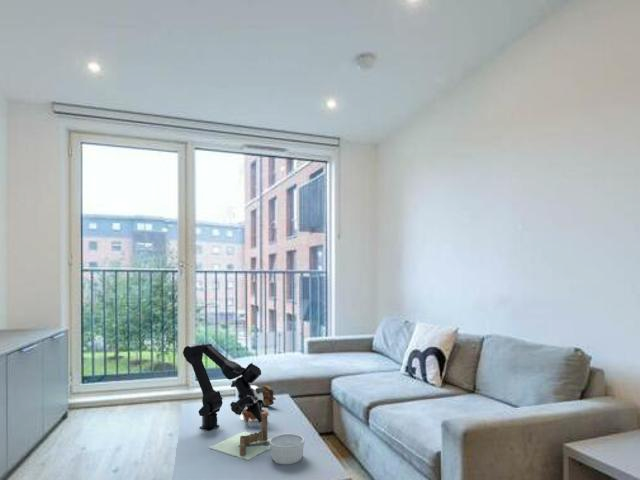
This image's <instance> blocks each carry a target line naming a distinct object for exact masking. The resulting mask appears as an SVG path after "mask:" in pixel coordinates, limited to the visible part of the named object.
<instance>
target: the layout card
mask: <svg viewBox="0 0 640 480" xmlns="http://www.w3.org/2000/svg"><path fill="white" fill-rule="evenodd" d="M250 434H253V433H252V432H249V431H242V432H240V433H237V434H234V435H233V436H231V437H229V438H227V439H225V440H223V441H221V442H219V443H216V444H215V445H212V446H210V447H209V449H211V450H214V451H217V452H219V453H224V454H226V455H229V456H233V457H235V458H239V459H242V460H246V461H250V460H252V459H253V458H255V457H257V456H259V455H261V454H263V453H264V452H266V451H267V450H270V449H271V446H270V439H271V438H272V437H268V439H267V440H262V441H257V442H253V443H250V444H248V445H246V444H245V455H244V456H240V436H247V435H250Z"/></svg>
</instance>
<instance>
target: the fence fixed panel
mask: <svg viewBox="0 0 640 480" xmlns="http://www.w3.org/2000/svg"><path fill="white" fill-rule="evenodd" d="M244 455H245V436H240V456H244Z"/></svg>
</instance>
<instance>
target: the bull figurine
mask: <svg viewBox="0 0 640 480" xmlns="http://www.w3.org/2000/svg"><path fill="white" fill-rule="evenodd" d="M269 409H270V408H267V407H265V408H264V407H262V412H268V415H267V417H268V416H270V412H269ZM245 410H246V409H244V410H243V411H242V413H241V415H244V416H243V418H244V417H245V418H244V421H243V422H244V424H246V425H247V426H248V427H251V426H252V425H251V424H250V422H249V421H248V420H249V418H250V419H252V421H251V422H255V421H254V420H255V419H256V418H255V416H254V415H253V414H252V413H251V412H247V411H245ZM260 423H261V424H260ZM261 425H262V422H259V421H258V420H257V426H258V427H259V428H260V427H261Z"/></svg>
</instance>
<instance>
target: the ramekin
mask: <svg viewBox="0 0 640 480" xmlns="http://www.w3.org/2000/svg"><path fill="white" fill-rule="evenodd" d="M270 438H271V439H270V446H271V448H270V453H271V454H270V455H271V458H272V460H273V461H274V462H275V463H276V464H279V465H284V466H285V465H287V466H288V465H293V464H296V463H298V462H299V461H301V459H303V455H304V454H303V453H304V445H305V438H304V437H303V436H302V435H300V434H296V433H280V434H277V435H274V436H273V437H270Z"/></svg>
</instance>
